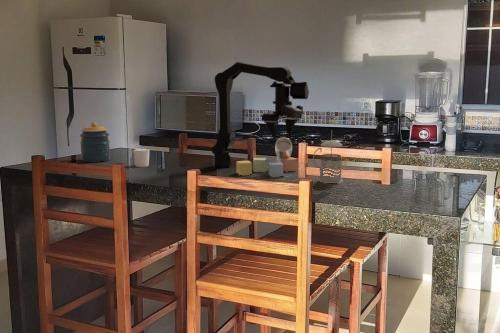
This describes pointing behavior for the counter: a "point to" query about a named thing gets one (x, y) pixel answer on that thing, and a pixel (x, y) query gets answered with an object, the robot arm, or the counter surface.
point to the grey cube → (275, 169)
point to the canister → (94, 144)
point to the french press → (330, 162)
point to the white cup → (141, 157)
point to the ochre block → (244, 167)
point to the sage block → (259, 165)
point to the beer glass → (283, 148)
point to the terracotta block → (289, 164)
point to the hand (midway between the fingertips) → (281, 137)
